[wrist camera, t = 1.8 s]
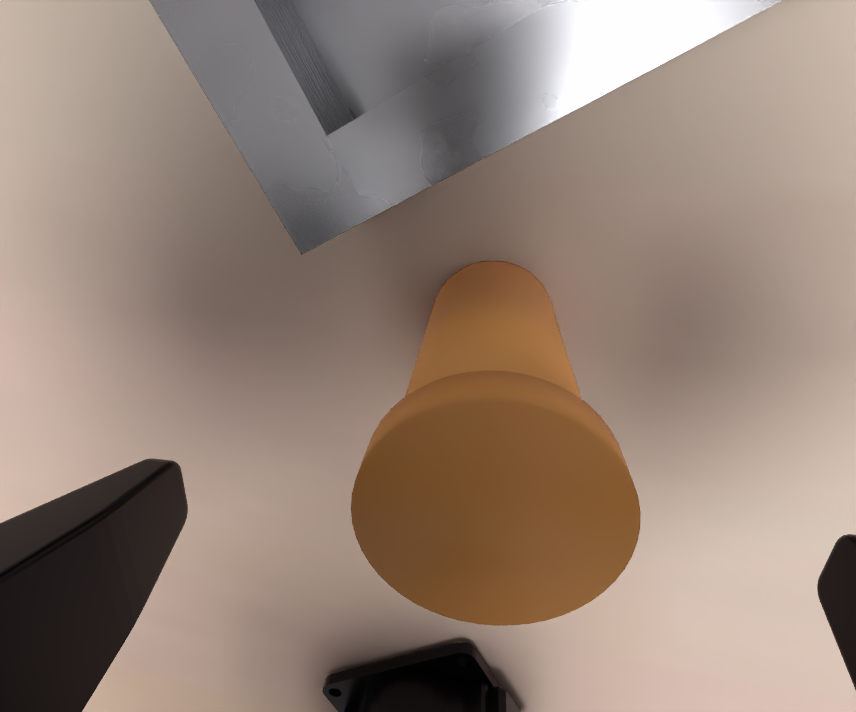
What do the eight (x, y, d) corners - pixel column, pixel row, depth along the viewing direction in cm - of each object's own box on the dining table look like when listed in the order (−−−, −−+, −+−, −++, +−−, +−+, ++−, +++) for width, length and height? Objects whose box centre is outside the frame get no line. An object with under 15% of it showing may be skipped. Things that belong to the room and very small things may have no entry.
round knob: (459, 402, 15) (429, 649, 8) (396, 287, 14) (298, 461, 7) (586, 352, 14) (679, 587, 7) (530, 223, 13) (576, 352, 6)
